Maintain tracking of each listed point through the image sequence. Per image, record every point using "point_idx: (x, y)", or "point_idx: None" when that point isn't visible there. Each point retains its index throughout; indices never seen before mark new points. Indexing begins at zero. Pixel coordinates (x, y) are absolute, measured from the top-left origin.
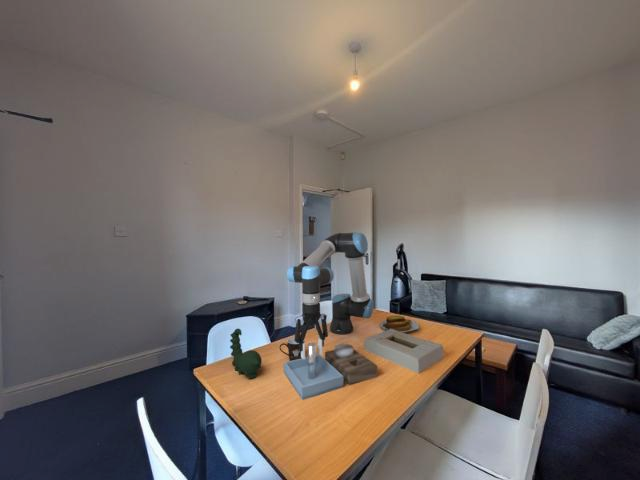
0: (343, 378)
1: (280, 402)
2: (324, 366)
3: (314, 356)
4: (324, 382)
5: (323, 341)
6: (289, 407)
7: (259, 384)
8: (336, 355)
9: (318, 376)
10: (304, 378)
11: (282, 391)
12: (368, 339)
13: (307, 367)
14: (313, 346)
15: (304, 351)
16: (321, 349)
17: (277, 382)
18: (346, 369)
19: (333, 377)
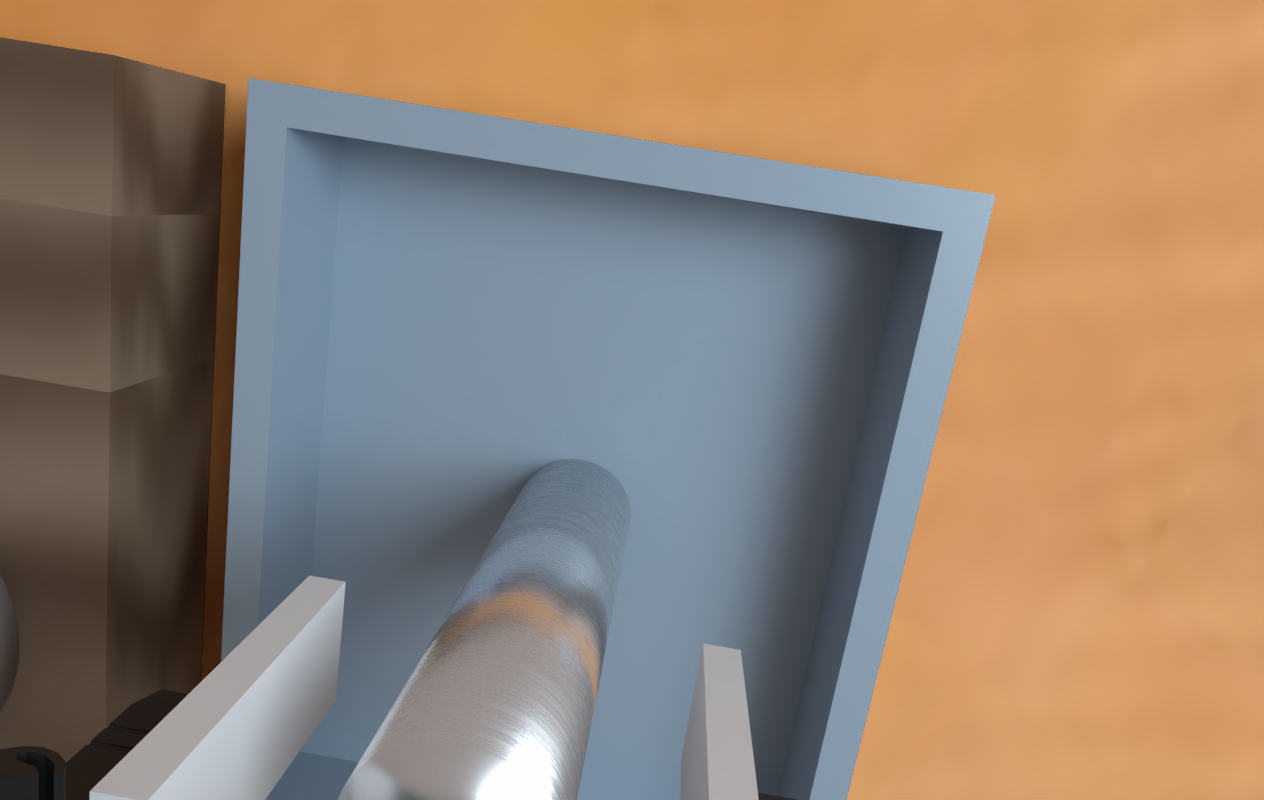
0: (211, 251)
1: (1185, 318)
2: None
3: (496, 599)
4: (600, 135)
5: (72, 771)
6: (1158, 159)
7: (1173, 792)
8: (3, 629)
9: (490, 473)
10: (674, 546)
11: (1033, 502)
12: None
13: None
14: (461, 737)
15: (720, 747)
16: (267, 641)
17: (974, 702)
18: (95, 185)
19: (409, 144)
